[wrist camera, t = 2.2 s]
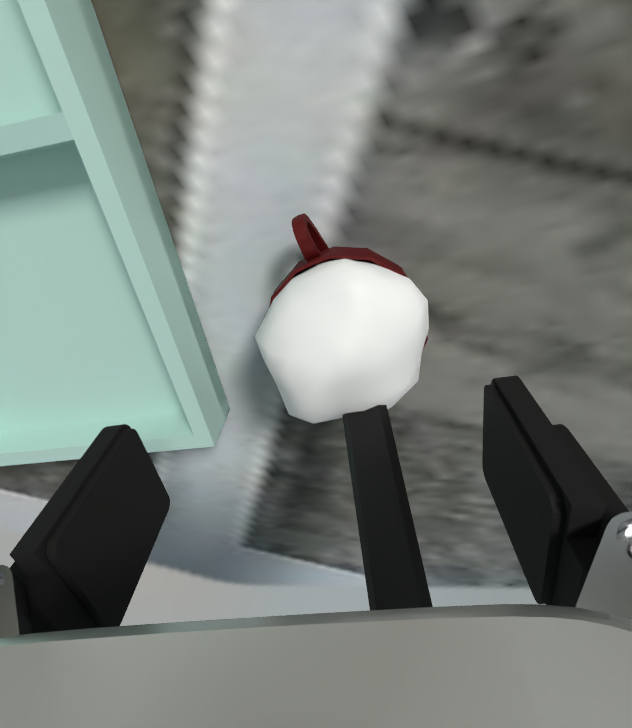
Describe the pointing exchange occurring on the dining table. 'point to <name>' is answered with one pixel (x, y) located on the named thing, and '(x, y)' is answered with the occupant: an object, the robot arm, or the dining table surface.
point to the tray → (87, 257)
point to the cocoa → (355, 388)
